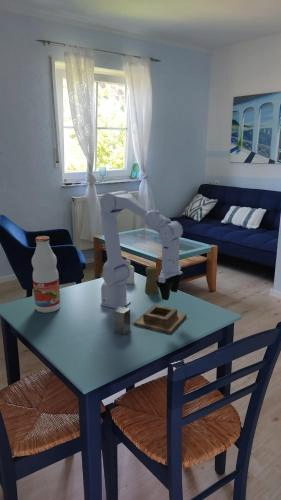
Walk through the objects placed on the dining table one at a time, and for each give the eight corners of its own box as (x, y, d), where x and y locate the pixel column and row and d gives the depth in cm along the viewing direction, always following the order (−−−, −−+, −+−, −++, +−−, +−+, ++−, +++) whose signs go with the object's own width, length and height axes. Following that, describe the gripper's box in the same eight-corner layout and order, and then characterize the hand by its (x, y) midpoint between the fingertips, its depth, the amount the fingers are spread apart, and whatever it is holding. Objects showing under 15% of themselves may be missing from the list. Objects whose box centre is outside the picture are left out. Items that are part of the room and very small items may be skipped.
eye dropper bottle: (130, 285, 168) (129, 259, 164) (120, 283, 171) (119, 257, 167) (135, 282, 171) (135, 257, 168) (125, 280, 174) (125, 255, 171)
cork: (157, 294, 158) (157, 269, 155) (143, 293, 159) (143, 268, 156) (159, 289, 163) (160, 265, 160) (146, 288, 164) (146, 264, 161)
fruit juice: (64, 304, 149) (60, 235, 141) (53, 314, 140) (47, 241, 133) (43, 301, 152) (37, 233, 144) (30, 311, 143) (23, 239, 135)
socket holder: (133, 324, 132) (133, 315, 131) (151, 309, 144) (151, 300, 143) (170, 333, 126) (170, 324, 125) (186, 317, 137) (186, 308, 136)
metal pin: (114, 332, 127) (113, 311, 124) (120, 327, 130) (119, 306, 128) (124, 335, 125) (123, 313, 123) (130, 330, 128) (130, 308, 126)
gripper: (173, 265, 119) (172, 305, 123) (189, 253, 132) (188, 290, 135) (152, 262, 122) (152, 301, 126) (170, 251, 135) (170, 287, 139)
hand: (169, 295), depth 131 cm, fingers open, 7 cm apart
